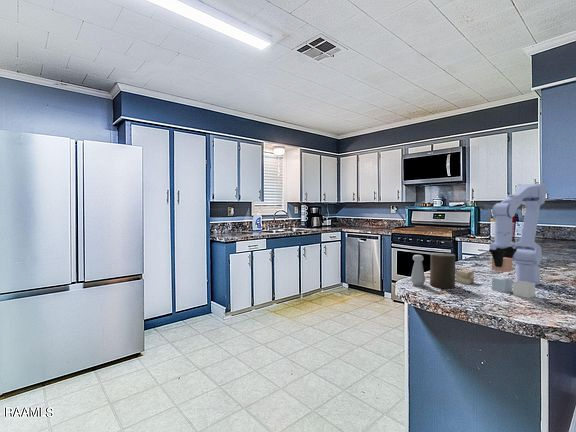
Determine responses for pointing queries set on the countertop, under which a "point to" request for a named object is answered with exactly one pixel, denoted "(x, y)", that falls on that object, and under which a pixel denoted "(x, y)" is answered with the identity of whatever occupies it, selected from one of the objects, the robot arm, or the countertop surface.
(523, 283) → the cream block
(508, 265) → the terracotta block
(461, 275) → the maple block
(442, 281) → the pillar candle
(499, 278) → the blue-grey block
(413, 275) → the salt shaker
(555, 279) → the countertop surface
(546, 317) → the countertop surface
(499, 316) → the countertop surface
